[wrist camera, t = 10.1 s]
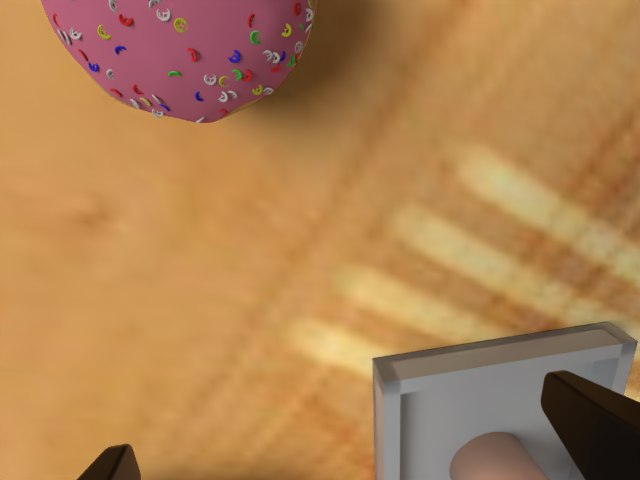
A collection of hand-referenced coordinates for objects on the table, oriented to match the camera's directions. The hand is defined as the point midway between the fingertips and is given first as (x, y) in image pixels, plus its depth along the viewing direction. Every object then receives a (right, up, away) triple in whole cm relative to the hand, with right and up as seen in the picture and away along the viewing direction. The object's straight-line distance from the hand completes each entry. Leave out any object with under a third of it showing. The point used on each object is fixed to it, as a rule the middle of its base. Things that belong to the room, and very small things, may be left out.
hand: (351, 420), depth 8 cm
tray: (+11, -12, +20) cm, 26 cm away
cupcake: (-6, +14, +8) cm, 17 cm away
